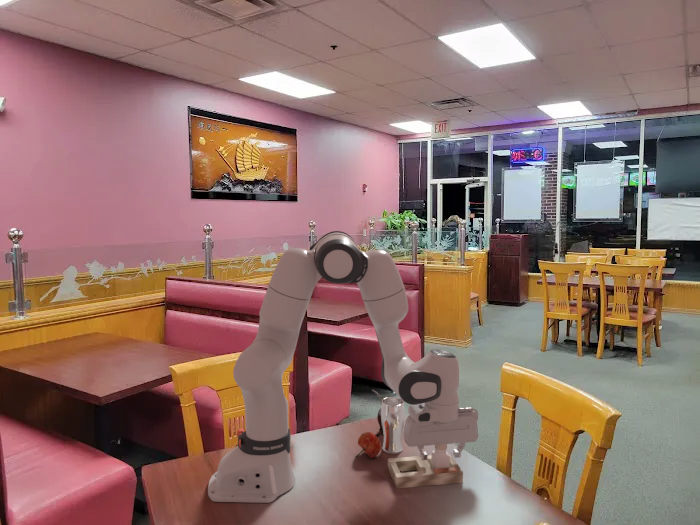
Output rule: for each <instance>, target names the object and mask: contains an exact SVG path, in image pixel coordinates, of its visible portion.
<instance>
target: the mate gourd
mask: <svg viewBox="0 0 700 525" xmlns="http://www.w3.org/2000/svg"><path fill="white" fill-rule="evenodd" d="M371 391H372V392H373V393H375V394H376V395H377V398H378V399H379V401H380V405H381V406H382V400H383V399H382V396H381V394H380V393H379V392H378V391H376V390H374V389H371ZM376 418H377V423H378V426H379V429H378V430H379V431H380V432H383V428H382V422H381V407H380V408H379V409H378V411H377V417H376ZM382 436H383V437H384V435H383V434H382Z"/></svg>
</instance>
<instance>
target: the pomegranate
mask: <svg viewBox="0 0 700 525" xmlns="http://www.w3.org/2000/svg"><path fill="white" fill-rule="evenodd" d="M381 435H382V432H379V433H378V434H375V433H373V432H369V431H368V432H367V431H366V432H363V433H361V434H360V436H359V438H358V440H357V444H358V446H359V447H360V448H361V449H362V450H361V451H360V452H359V453H358V454H357V455H356V456H355V457H356V458H357V457H359V456H360V455H361V454H362V453H365V454H367V455H368V457H369V458H370V459H373V458H375V457H376V456H378V455H379V453H380V452H381V449H382V442H381V440H380V438H379V437H380V436H381Z"/></svg>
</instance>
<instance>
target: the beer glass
mask: <svg viewBox="0 0 700 525" xmlns="http://www.w3.org/2000/svg"><path fill="white" fill-rule="evenodd" d="M381 400H382V405H381V406H380V408H381V422H382V428H383V431H382V436H383V435H384V436H383V441H382V444H381V449H383V450H382V451H383V452H384V453H387V454H392V455H393V454H400V453H401V452H402V451H403V445H402V435H403V434H402V433H403V430H404V425H405V402H404V401H403V400H402V399H401V398H400V397H396V396H395V397H394V396H391V397H390V396H389V397H385V398H383V399H381Z"/></svg>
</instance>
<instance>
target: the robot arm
mask: <svg viewBox="0 0 700 525" xmlns="http://www.w3.org/2000/svg"><path fill="white" fill-rule="evenodd" d="M322 278H323V279H324V280H325V281H327V282H329V283H332V284H357V286H358V289H359V291H360V292H359V293H360V295H361V299H362V302H363V305H364V307H365V309H366V312H367V314H368V317H369V319H370V321H371V323H372V324H373V327H374V331H375V334H376V338H377V341H378V344H379V345H378V346H379V349H380V353H381V359H382V360H381V367H380V368H381V371H380V372H381V373H380V375H381V378H382V381H383V383H384V384H385V385H386V386H387V387H388V388H390V390H392V391H393V392H394V394H396V395H397V396H398V398H400V399H402V400H403V401H404V403H407V404H408V405H409V406H408V408H407V412H408V416H407V417H406V419H405V420H404V426H403V440H404V443H406V445H407V446H408V447H409V448H412V447H413V448H414V447H416V448H417V449H418V451H419V452H420V453H419V454H420V455H419V456H420V458H421V460H422V461H423V460H427V456H428V453H427V451H423V450H424V449H425V448H424V447H425V446H426V447H427V446H435V445H440V444H447V445H450V444H451V445H452V444H458V445H457V446H456V448H454V449H453V458H454V459H456V458H457V459H458V458H461V457H462V455H461V454H462V451H464V448H465V446H466V443H475V442H477V441H478V439H479V429H478V420H479V412H478V410H477V409H475V408H473V407H459V405H460V404H459V403H460V400H459V395H458V390H459V388H460V367H459V366H460V365H459V361H458V358H457V357H456V356H455V355H454V354H453V353H451V352H450V351H447V350H443V349H437V348H435V349H431V350H429V351H428V353H427V354H425V356H424V357H422V358H421V359H419V360H418V361H416V362H415V361H414V360H412V358H411V357H410V356H409V355H408V354H407V352H406V351H405V348H404V345H403V340H402V336H401V334H400V333H401V332H400V329H399V324H400V323H401V322H402V321H403V320H404V319H405V318H406V316H407V315H408V312H409V300H408V295H407V294H408V293H407V291H406V287H405V285H404V282H403V279H402V277H401V273H400V271H399V268H398V266H397V264H396V263H395V260H394V259H393V256H392V255H391V254H390V253H389V252H388V251H387V250H383V249H371V250H369V251H364V250H361V249H360V248H359V247H358V245H357V242H355V239H354V238H353V237H352V236H351V235H350V234H348V233H346V232H344V231H339V230H335V231H334V230H333V231H330V232H328V233H326V234H324V235H323V236H322V237H320V238H319V239H318V240H317V241H316V242H315V243H313V244H312V245H311V246H310V248H309V250H308V249H305V248H301V247H300V248H299V247H293V248H288V249H286V251H284V252H283V254H282V255H281V257H280V259H279V261H278V262H277V264H276V266H275V269H274V270H273V273H272V275H271V277H270V281H269V284H268V286H267V289H266V291H265V295H264V298H263V300H262V303H261V307H260V309H259V313H258V314H259V321H258V327H257V333H256V336H255V338H254V340H253V341H252V343H251V344H250V345H249V346H247V348H245V349H244V350H243V351H242V352H241V353H240V354H239V356H238V358H237V359H236V361H235V364H234V367H233V372H232V374H233V379H234V382H235V383H236V385H237V386H238V387H239V388H240V391H241V394H242V399H243V403H244V413H245V414H244V416H245V418H244V419H245V429H244V428H243V427H240V428H238V430H237V432H236V437H237V446H236V447H235V448H233V449H232V450H231V451H229V452H227V453H226V454H225V455H224V456H223V457H222V458H221V460H220V462H219V464H218V467H217V471H215V472H214V473H213V474H212V475H211V477H210V478H209V481H208V486H207V495H208V498H209V499H210V500H211V501H212V502H214V503H215V502H217V503H260V504H261V503H262V504H263V503H266V504H268V503H271V502H274V501H275V500H276V499H277V498H278V497H279V496H281V495H283V494H285V493H287V492H288V491H290V490H292V488H293V487H294V485H295V484H296V476H295V474H294V471H293V466H292V462H291V461H292V459H291V448H292V440H291V439H292V437H291V430H290V428H289V402H288V399H287V398H286V395H285V392H284V387H283V376H284V373H285V371H286V370H287V369H288V368H289V366H290V365H291V364H292V361H293V359H294V355H295V352H296V347H297V344H298V339H299V335H300V330H301V327H302V324H303V321H304V319H305V315H306V312H307V310H308V307H309V303H310V301H311V298H312V295H313V292H314V290H315V287H316V285H317V284H318V282H319V281H320V280H321V279H322Z"/></svg>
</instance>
